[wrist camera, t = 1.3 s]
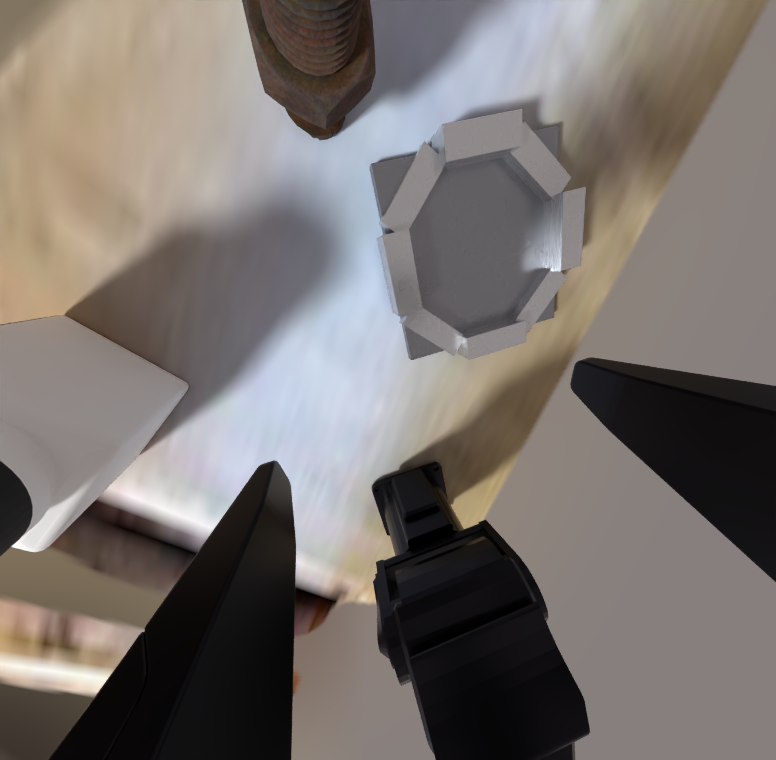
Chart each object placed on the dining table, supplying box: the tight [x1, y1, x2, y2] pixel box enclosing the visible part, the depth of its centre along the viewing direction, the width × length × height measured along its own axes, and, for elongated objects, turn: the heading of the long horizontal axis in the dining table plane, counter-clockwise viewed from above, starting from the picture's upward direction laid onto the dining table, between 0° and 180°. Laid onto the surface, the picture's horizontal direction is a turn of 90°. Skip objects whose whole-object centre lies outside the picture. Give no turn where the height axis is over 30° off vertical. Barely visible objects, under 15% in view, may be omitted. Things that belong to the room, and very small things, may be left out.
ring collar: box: [370, 109, 586, 360], centre depth 18 cm, size 13×13×2 cm
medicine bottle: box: [0, 315, 189, 556], centre depth 12 cm, size 7×7×12 cm
